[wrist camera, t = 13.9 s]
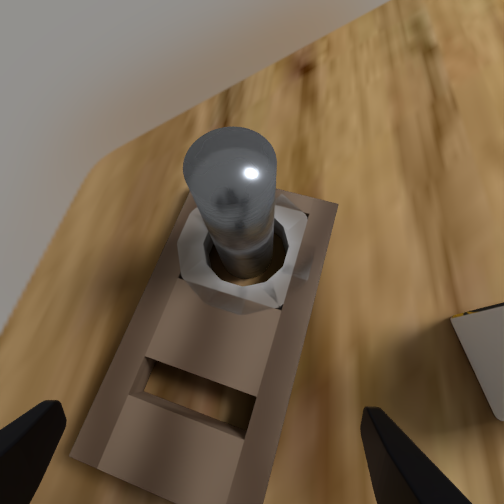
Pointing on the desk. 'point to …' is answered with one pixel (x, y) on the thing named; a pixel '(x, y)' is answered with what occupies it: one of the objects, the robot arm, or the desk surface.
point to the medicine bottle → (485, 350)
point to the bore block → (209, 363)
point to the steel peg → (235, 196)
